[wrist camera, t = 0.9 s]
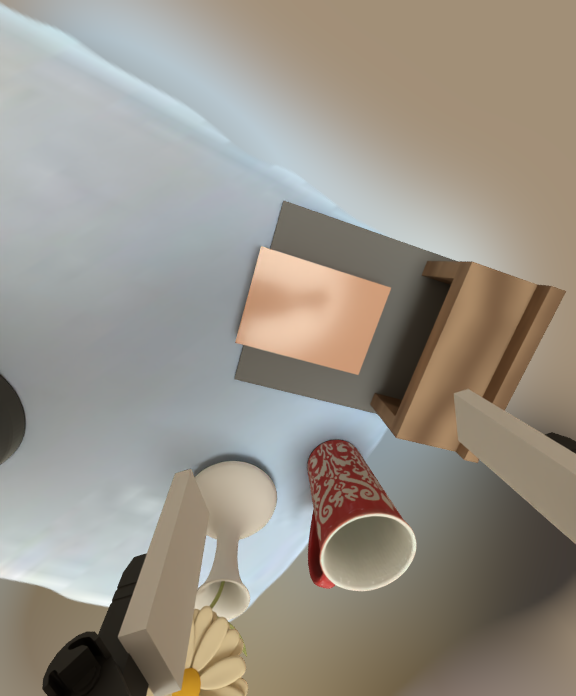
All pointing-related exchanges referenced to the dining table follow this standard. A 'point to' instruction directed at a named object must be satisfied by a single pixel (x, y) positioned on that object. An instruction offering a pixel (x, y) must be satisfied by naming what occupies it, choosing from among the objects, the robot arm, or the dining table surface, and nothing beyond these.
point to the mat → (394, 324)
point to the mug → (353, 523)
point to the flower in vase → (225, 578)
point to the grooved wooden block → (470, 350)
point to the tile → (310, 312)
